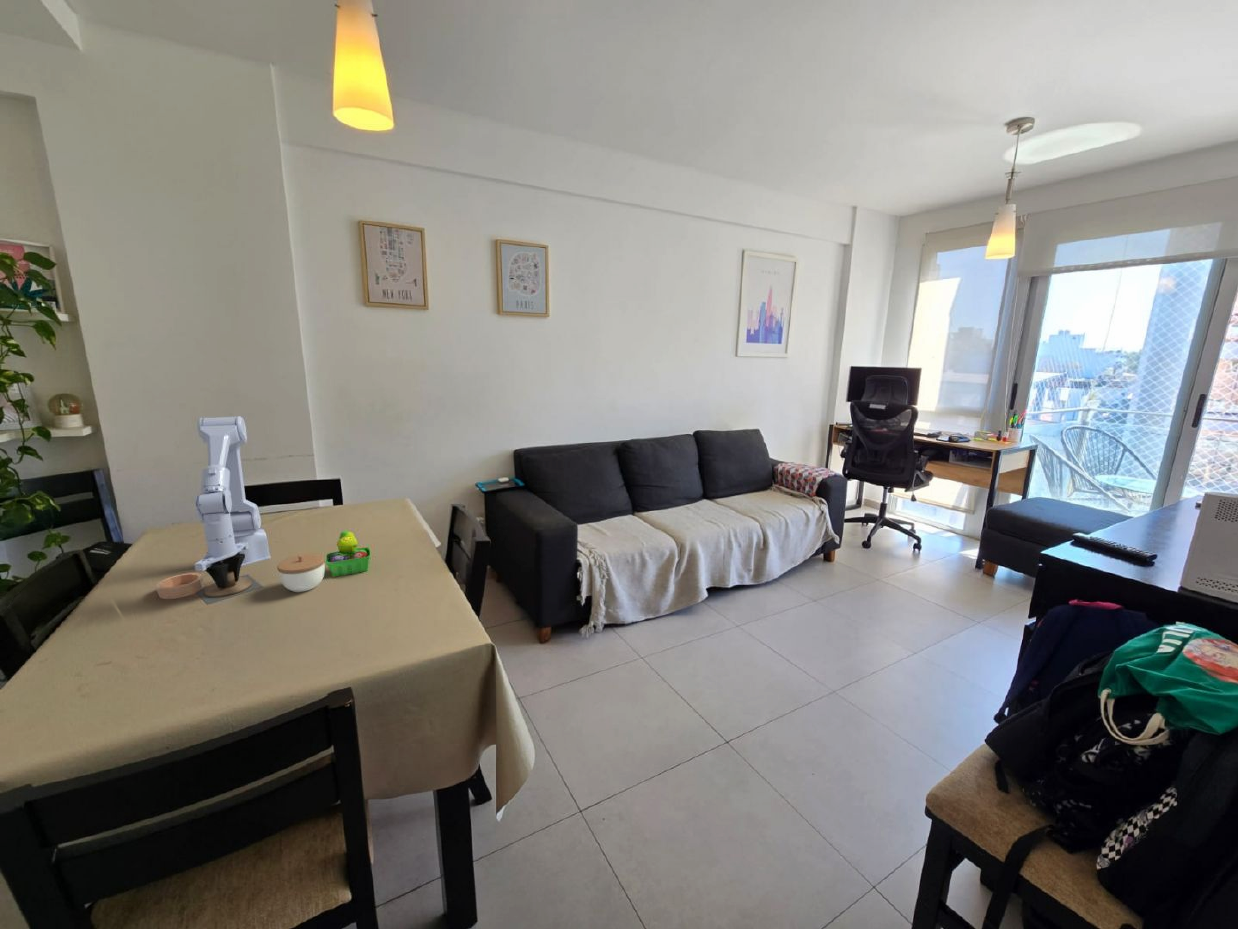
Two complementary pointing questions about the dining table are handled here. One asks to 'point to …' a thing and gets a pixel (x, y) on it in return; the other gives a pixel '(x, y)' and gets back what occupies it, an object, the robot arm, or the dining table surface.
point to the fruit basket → (348, 556)
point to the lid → (228, 586)
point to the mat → (211, 600)
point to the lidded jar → (302, 572)
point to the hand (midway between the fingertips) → (228, 584)
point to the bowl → (180, 585)
